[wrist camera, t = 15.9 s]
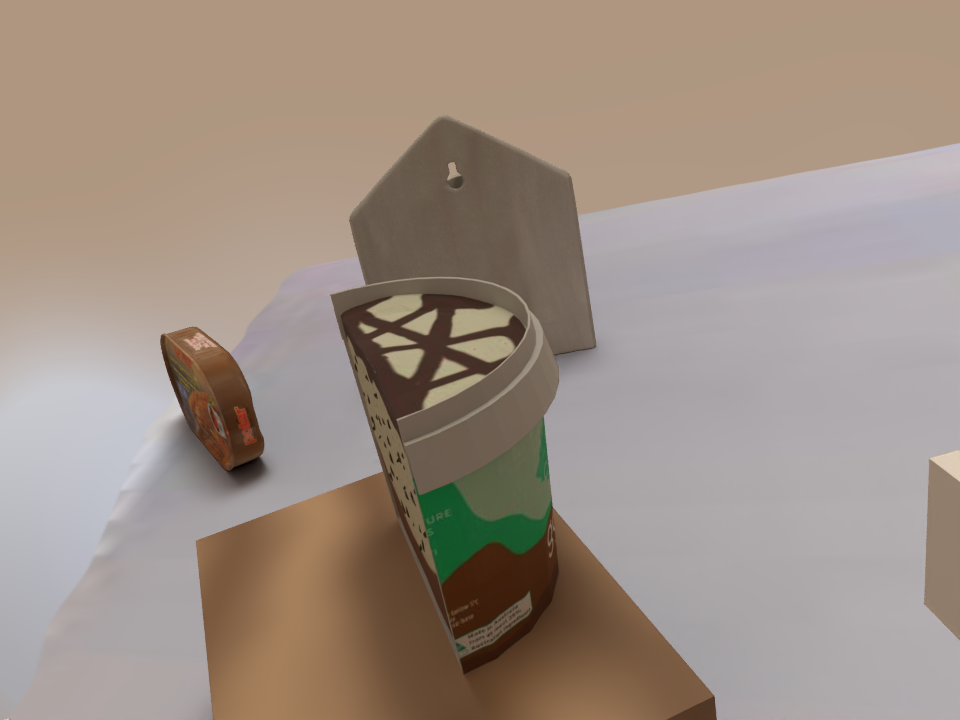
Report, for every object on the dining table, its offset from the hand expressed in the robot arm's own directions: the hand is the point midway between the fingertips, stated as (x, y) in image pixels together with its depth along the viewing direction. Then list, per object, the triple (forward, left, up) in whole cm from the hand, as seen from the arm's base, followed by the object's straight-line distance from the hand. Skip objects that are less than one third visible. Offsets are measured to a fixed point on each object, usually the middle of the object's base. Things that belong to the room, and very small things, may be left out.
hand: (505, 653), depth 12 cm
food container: (-4, -15, -11) cm, 20 cm away
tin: (+6, -49, -19) cm, 53 cm away
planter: (-16, -50, -19) cm, 56 cm away
